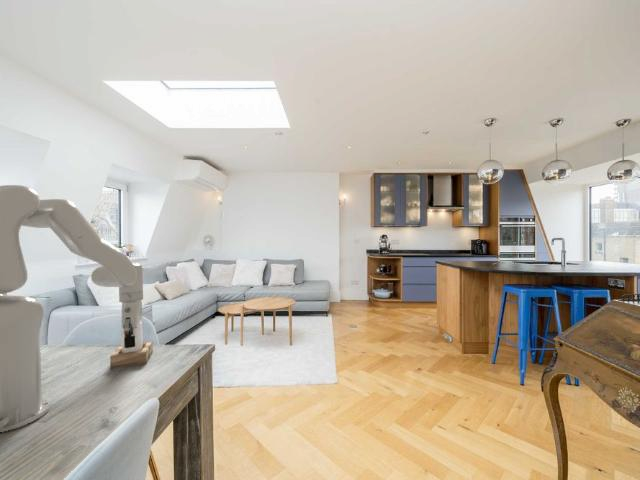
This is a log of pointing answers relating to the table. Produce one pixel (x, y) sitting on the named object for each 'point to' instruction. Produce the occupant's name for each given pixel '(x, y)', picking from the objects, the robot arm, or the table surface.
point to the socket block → (131, 356)
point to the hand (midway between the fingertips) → (132, 343)
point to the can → (137, 339)
